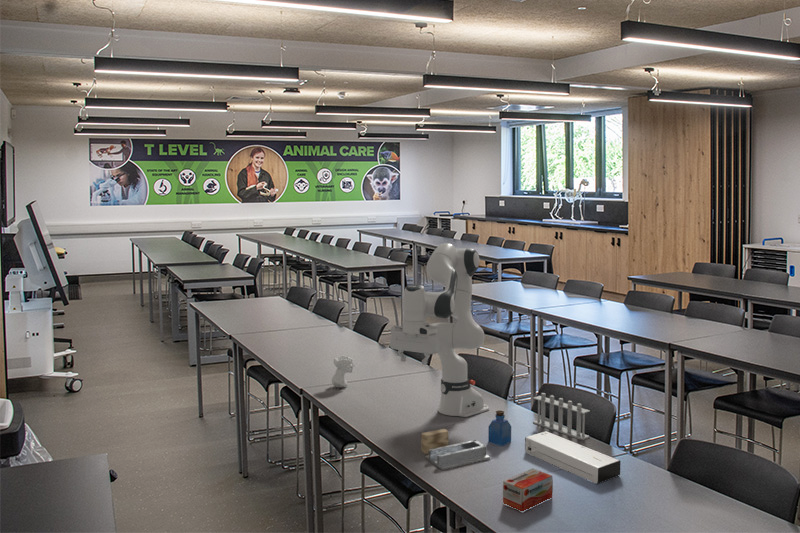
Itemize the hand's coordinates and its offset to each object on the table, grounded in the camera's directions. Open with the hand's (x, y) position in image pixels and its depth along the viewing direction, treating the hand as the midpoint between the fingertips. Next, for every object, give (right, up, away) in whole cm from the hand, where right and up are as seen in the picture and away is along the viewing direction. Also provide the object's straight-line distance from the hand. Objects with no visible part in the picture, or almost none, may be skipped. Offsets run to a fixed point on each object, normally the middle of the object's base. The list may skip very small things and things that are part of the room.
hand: (413, 362), depth 263 cm
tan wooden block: (+8, -32, -7) cm, 33 cm away
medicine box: (+35, -37, -49) cm, 71 cm away
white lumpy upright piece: (-33, -22, +72) cm, 83 cm away
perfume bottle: (+33, -31, 0) cm, 45 cm away
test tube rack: (+59, -29, +12) cm, 67 cm away
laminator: (+55, -34, -21) cm, 68 cm away
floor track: (+16, -33, -16) cm, 39 cm away
